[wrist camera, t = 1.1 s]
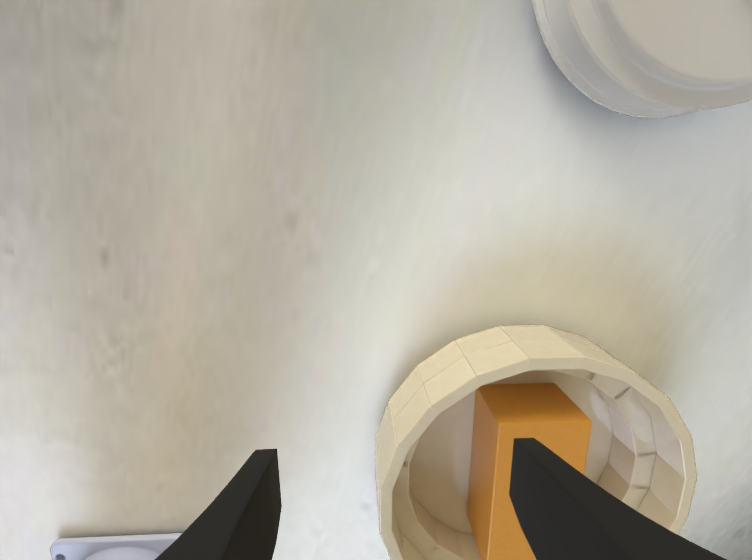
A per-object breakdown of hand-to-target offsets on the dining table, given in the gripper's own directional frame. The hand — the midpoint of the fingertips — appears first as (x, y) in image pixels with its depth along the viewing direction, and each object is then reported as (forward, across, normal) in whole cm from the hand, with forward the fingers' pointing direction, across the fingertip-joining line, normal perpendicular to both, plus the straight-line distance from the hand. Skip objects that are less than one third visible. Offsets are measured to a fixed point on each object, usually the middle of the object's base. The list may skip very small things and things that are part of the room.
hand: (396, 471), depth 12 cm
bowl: (+10, -7, +6) cm, 14 cm away
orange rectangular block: (+9, -7, +6) cm, 13 cm away
